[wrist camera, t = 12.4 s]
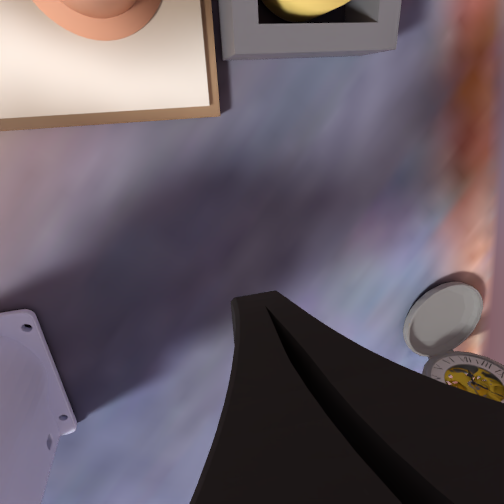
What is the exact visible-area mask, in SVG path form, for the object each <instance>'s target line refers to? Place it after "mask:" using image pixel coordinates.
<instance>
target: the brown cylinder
mask: <svg viewBox="0 0 504 504" xmlns="http://www.w3.org/2000/svg"><path fill="white" fill-rule="evenodd" d="M60 1H61V2H62V3H64V4H65V5H66V6H67V7H69V8H71V9H72V10H74V11H75V12H78V13H80V14H82V15H85V16H88V17H92V18H101V19H105V18H112V17H116V16H118V15H121V14H123V13H124V12H126V11H127V10H129V9H130V8H131V7H132V6H133V5H134V3H135V2H136V1H137V0H60Z"/></svg>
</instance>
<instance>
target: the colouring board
mask: <svg viewBox="0 0 504 504" xmlns="http://www.w3.org/2000/svg"><path fill="white" fill-rule="evenodd" d="M217 116H220V106H219V93H218V81H217V68H216V56H215V44H214V31H213V19H212V6H211V0H137V1H136V2H135V3H134V5H133V6H132V7H131V8H130V9H129V10H127V11H126V12H124V13H123V14H121V15H118V16H116V17H112V18H105V19H101V18H92V17H88V16H85V15H82V14H80V13H78V12H75V11H74V10H72V9H71V8H69V7H67V6H66V5H65V4H64V3H62V2H61V1H60V0H0V131H10V130H25V129H40V128H54V127H69V126H84V125H99V124H114V123H128V122H143V121H158V120H173V119H187V118H202V117H217Z"/></svg>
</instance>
